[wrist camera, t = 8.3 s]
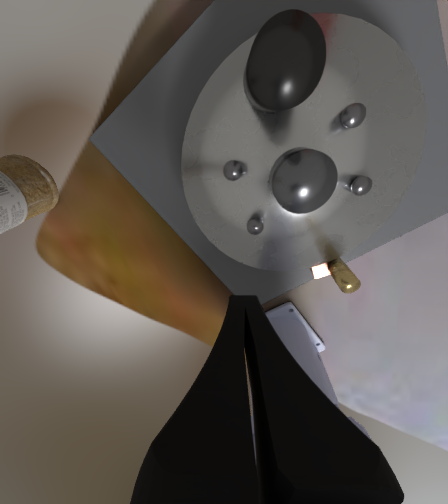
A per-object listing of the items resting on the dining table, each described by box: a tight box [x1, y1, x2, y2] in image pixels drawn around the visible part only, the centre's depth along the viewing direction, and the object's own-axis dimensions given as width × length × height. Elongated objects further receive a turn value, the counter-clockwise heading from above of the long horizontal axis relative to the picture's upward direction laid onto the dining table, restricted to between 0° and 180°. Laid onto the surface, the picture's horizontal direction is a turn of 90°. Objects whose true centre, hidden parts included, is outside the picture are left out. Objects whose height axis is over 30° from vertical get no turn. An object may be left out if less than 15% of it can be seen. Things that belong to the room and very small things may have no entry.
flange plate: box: [181, 9, 426, 279], centre depth 13 cm, size 16×15×5 cm
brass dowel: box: [327, 257, 361, 293], centre depth 17 cm, size 1×1×4 cm
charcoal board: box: [89, 0, 448, 305], centre depth 16 cm, size 20×20×1 cm
